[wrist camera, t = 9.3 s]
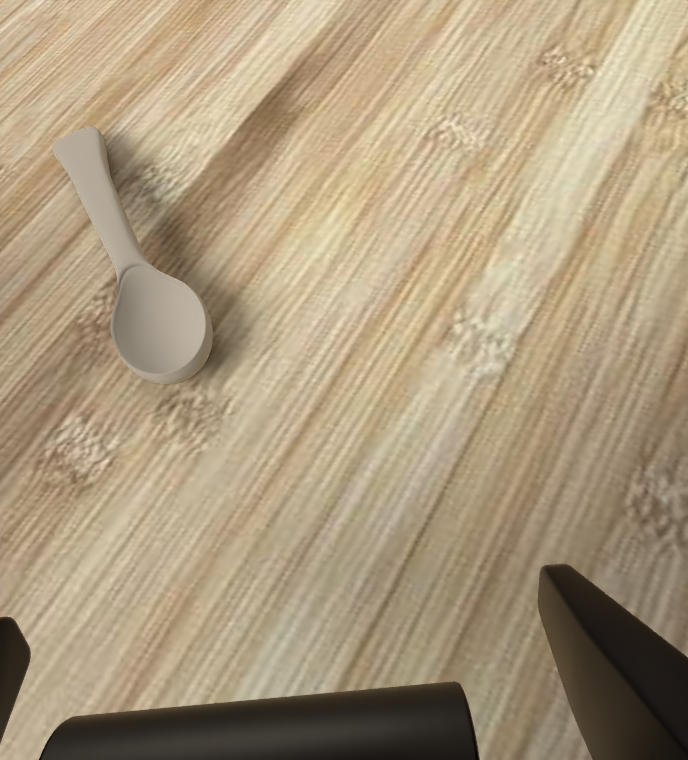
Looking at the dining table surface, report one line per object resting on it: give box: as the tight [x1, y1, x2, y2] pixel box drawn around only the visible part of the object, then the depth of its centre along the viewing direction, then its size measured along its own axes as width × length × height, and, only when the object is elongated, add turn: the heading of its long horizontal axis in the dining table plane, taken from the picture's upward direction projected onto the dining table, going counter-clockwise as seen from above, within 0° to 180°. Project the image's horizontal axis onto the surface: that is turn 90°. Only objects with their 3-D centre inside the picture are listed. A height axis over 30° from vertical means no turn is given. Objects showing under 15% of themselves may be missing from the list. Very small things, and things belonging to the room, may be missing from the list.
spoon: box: [52, 126, 213, 384], centre depth 17 cm, size 3×12×2 cm, turn 29°
